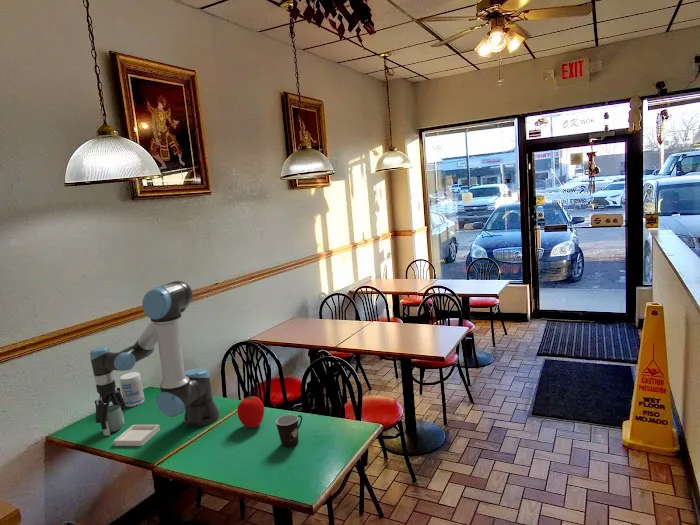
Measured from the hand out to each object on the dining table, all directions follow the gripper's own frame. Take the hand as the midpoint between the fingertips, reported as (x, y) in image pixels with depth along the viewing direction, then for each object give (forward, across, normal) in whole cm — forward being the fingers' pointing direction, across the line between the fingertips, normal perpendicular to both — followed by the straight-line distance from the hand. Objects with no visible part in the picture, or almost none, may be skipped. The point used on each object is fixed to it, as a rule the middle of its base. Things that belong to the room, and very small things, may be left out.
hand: (114, 429), depth 214 cm
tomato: (0, -3, +65) cm, 65 cm away
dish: (0, +6, +16) cm, 17 cm away
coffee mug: (0, +10, +87) cm, 88 cm away
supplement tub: (0, -26, -8) cm, 27 cm away
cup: (0, 0, 0) cm, 1 cm away
